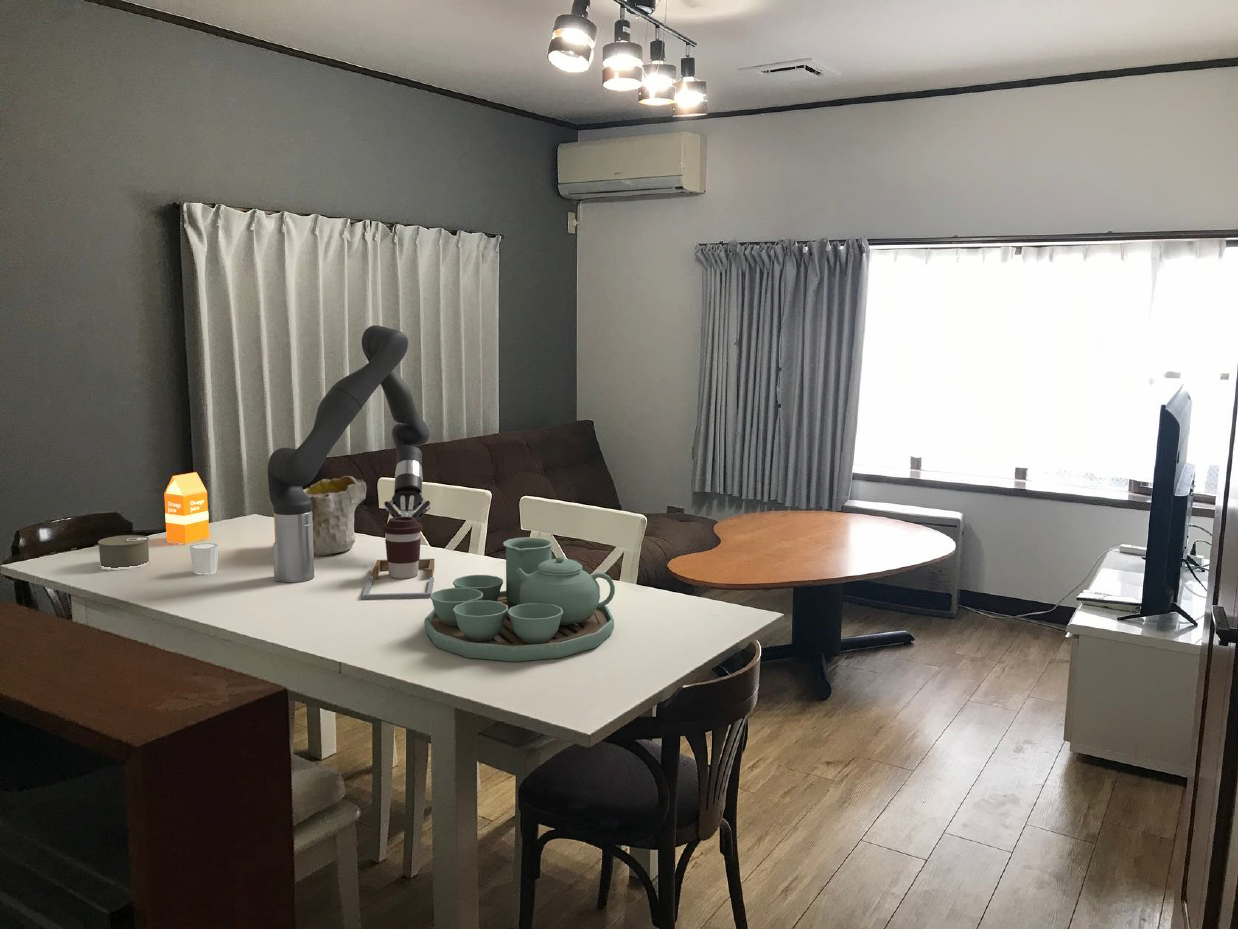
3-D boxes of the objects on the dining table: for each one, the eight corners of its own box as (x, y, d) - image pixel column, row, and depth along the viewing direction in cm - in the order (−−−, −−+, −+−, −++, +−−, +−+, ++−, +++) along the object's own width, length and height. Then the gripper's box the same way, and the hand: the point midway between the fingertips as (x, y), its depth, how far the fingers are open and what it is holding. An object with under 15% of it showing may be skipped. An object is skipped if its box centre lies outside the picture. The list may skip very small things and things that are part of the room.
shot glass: (206, 576, 244) (205, 550, 243) (184, 574, 246) (183, 547, 245) (225, 570, 250) (224, 544, 249) (204, 568, 252) (203, 542, 251)
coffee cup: (401, 583, 241) (400, 524, 238) (375, 576, 247) (374, 519, 244) (431, 575, 249) (430, 518, 246) (405, 568, 254) (404, 513, 252)
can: (100, 562, 257) (98, 537, 256) (149, 557, 263) (148, 533, 262) (99, 572, 247) (97, 546, 246) (150, 567, 252) (149, 542, 251)
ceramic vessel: (245, 530, 259) (276, 452, 271) (290, 568, 279) (317, 494, 292) (318, 535, 253) (347, 455, 265) (358, 574, 273) (384, 497, 285)
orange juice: (209, 539, 286) (206, 472, 283) (185, 545, 278) (182, 477, 275) (190, 536, 289) (187, 470, 286) (166, 542, 281) (162, 474, 278)
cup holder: (372, 580, 243) (372, 570, 242) (377, 569, 254) (376, 559, 253) (432, 579, 245) (432, 569, 244) (434, 567, 256) (434, 558, 256)
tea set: (401, 620, 212) (400, 547, 210) (563, 597, 232) (563, 530, 229) (465, 678, 178) (464, 592, 175) (649, 645, 198) (650, 567, 195)
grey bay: (362, 599, 226) (361, 595, 226) (369, 582, 241) (369, 578, 240) (431, 597, 228) (430, 593, 228) (434, 581, 243) (433, 577, 243)
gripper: (383, 472, 265) (380, 525, 255) (431, 472, 267) (430, 524, 256) (385, 488, 271) (382, 540, 260) (433, 487, 273) (431, 539, 262)
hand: (406, 532), depth 259 cm, fingers closed
